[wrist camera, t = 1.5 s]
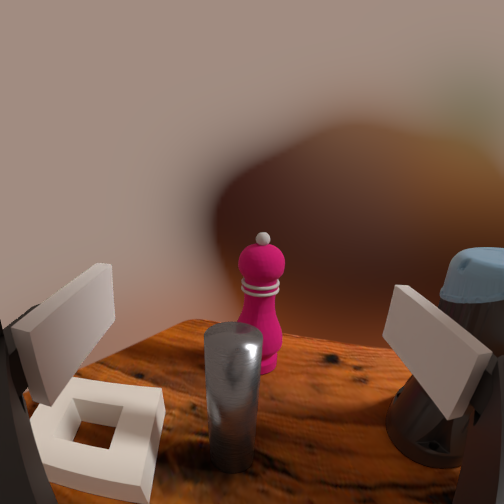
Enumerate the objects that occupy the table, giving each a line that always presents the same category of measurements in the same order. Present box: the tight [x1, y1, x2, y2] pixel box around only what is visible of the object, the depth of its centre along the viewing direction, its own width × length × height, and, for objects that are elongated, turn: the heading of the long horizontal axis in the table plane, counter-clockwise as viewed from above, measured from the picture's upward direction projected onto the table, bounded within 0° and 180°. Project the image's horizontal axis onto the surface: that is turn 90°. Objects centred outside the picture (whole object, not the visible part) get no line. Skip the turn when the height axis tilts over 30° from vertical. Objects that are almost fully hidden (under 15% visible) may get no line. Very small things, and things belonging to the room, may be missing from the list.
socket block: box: [30, 377, 165, 504], centre depth 26 cm, size 14×14×4 cm
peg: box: [204, 322, 263, 474], centre depth 26 cm, size 4×4×16 cm
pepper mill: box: [237, 232, 285, 375], centre depth 43 cm, size 7×7×20 cm
